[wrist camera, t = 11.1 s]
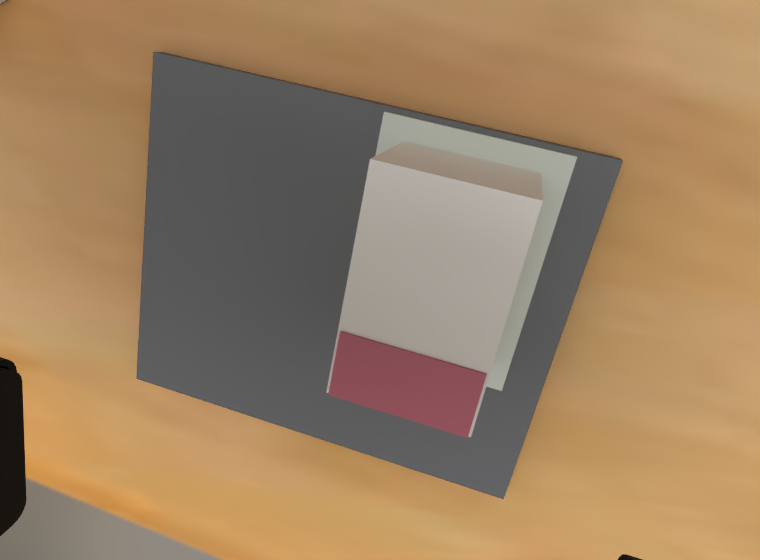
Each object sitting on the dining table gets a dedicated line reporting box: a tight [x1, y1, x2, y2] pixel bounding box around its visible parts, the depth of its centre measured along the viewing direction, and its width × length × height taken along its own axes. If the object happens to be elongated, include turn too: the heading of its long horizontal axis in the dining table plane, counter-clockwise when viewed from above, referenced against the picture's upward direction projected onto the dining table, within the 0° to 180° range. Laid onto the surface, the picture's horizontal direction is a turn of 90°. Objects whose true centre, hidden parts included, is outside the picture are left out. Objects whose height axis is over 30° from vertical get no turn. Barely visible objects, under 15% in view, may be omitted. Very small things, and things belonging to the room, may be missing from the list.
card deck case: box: [326, 141, 543, 438], centre depth 20 cm, size 8×5×5 cm, turn 169°
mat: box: [137, 52, 622, 499], centre depth 25 cm, size 18×15×1 cm
